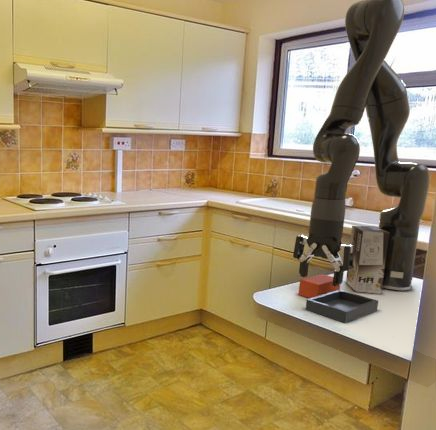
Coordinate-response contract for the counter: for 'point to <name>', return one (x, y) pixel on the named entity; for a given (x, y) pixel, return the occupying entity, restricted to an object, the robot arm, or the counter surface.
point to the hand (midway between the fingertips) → (319, 281)
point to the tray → (342, 305)
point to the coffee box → (368, 258)
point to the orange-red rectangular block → (317, 286)
